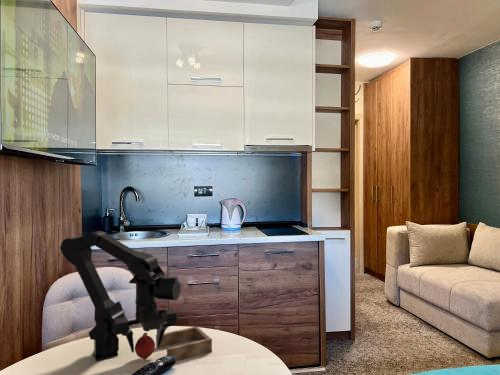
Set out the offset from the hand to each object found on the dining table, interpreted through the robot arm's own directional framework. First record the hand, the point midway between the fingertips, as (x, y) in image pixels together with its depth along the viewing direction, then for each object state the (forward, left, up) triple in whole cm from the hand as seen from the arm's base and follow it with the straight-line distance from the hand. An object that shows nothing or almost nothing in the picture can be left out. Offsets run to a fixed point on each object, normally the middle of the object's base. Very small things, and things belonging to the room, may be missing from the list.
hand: (145, 349), depth 108 cm
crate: (+12, 0, -3) cm, 12 cm away
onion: (0, 0, -3) cm, 3 cm away
